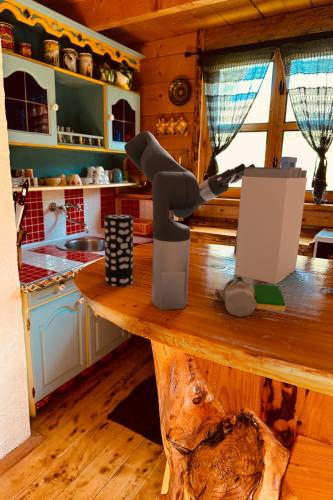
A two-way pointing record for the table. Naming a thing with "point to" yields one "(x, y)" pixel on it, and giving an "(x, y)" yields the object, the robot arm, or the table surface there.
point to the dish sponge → (268, 297)
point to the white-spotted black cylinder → (118, 249)
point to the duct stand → (270, 221)
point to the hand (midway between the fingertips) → (249, 166)
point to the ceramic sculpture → (237, 297)
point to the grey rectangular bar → (267, 168)
